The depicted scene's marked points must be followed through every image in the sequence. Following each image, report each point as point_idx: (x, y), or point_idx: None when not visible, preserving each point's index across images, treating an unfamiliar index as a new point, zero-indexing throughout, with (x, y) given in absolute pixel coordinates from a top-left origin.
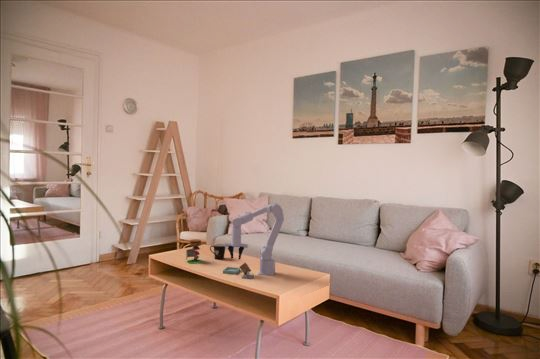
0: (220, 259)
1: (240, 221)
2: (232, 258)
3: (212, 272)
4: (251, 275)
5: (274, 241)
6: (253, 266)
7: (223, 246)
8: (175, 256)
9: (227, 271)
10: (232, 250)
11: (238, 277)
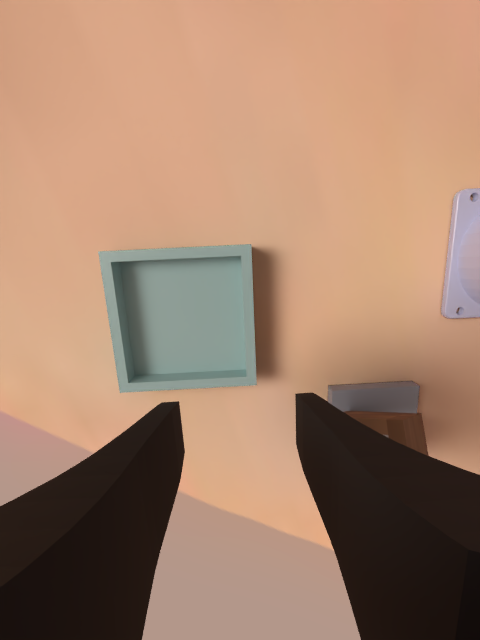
0: None
1: None
2: (182, 441)
3: (32, 384)
4: (401, 407)
5: None
6: (350, 3)
7: None
8: None
9: (168, 387)
10: (118, 610)
11: (296, 445)
